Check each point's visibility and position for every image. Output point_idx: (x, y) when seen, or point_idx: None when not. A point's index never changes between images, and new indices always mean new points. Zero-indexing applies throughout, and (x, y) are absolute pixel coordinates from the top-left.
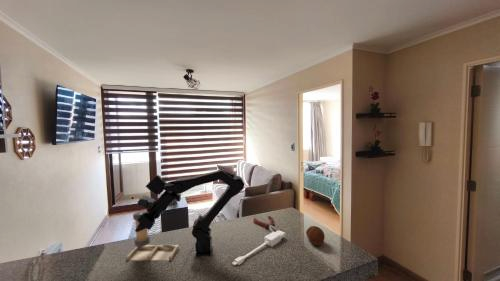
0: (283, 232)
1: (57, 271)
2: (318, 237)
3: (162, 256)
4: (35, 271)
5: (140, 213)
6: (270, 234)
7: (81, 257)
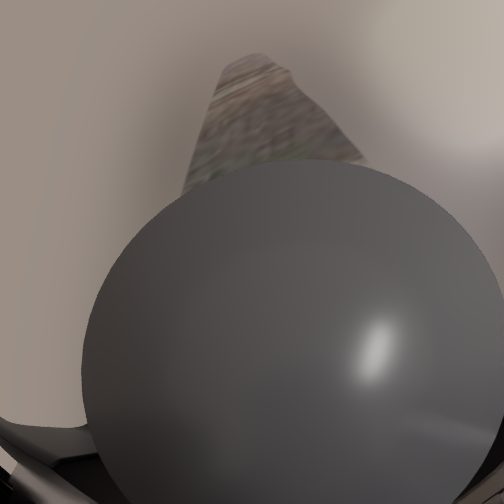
0: None
1: (223, 121)
2: None
3: None
4: (232, 88)
5: (337, 347)
6: None
7: (294, 128)
